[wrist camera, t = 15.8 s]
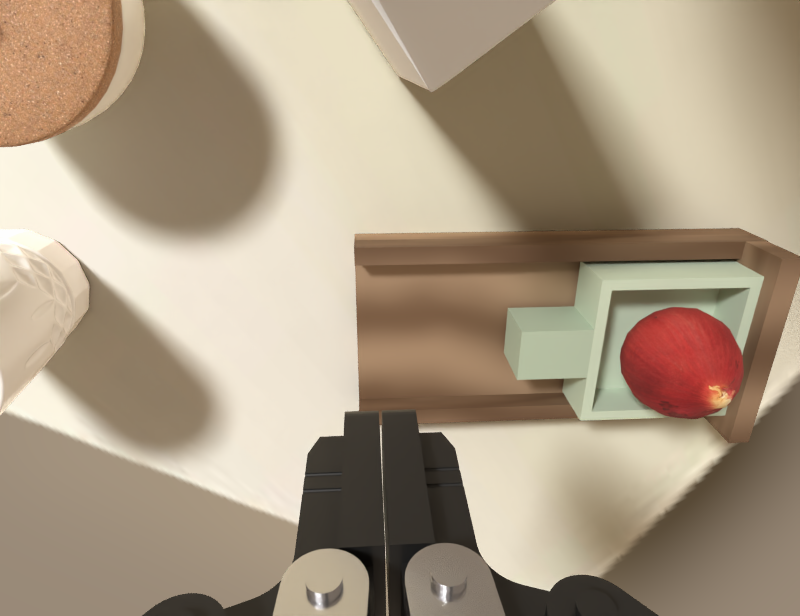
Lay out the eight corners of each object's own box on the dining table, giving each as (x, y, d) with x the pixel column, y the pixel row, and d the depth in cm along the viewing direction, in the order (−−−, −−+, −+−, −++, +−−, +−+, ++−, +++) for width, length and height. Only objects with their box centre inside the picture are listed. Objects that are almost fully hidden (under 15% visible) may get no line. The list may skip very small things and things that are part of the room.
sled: (512, 261, 32) (527, 281, 29) (728, 257, 33) (764, 276, 30) (500, 393, 36) (512, 423, 33) (695, 386, 36) (725, 415, 34)
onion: (697, 359, 35) (786, 439, 27) (605, 384, 35) (669, 470, 28) (691, 274, 32) (788, 337, 25) (592, 301, 33) (660, 371, 25)
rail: (354, 234, 32) (353, 266, 27) (739, 228, 34) (807, 258, 29) (359, 401, 37) (359, 456, 32) (698, 390, 38) (749, 441, 33)
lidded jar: (-97, 29, 27) (-311, 14, 18) (-2, -190, 24) (-205, -330, 15) (111, 169, 30) (12, 212, 22) (218, -9, 27) (152, -41, 19)
